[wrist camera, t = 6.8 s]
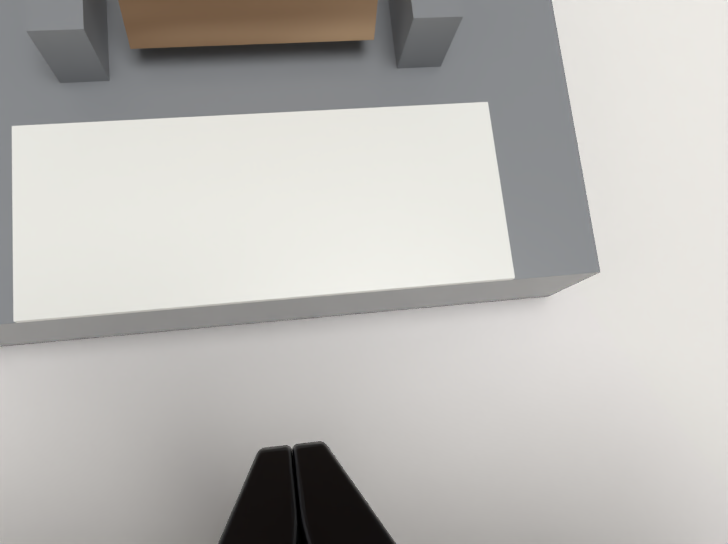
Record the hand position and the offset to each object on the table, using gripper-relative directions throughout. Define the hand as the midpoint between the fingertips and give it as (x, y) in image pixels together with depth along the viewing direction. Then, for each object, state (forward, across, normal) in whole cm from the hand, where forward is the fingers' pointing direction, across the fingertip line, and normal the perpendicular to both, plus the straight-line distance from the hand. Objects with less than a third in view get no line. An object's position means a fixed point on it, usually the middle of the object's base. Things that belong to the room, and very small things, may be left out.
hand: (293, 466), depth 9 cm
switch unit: (+12, 0, -1) cm, 12 cm away
